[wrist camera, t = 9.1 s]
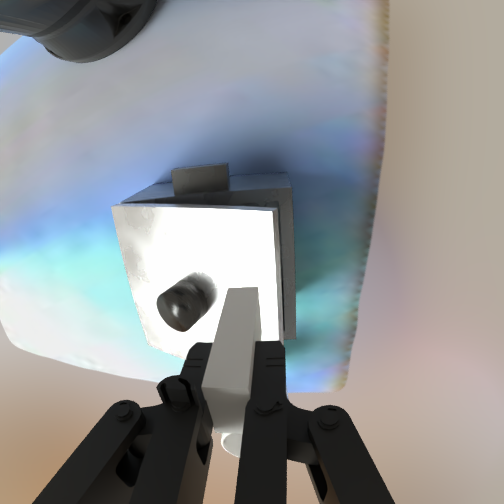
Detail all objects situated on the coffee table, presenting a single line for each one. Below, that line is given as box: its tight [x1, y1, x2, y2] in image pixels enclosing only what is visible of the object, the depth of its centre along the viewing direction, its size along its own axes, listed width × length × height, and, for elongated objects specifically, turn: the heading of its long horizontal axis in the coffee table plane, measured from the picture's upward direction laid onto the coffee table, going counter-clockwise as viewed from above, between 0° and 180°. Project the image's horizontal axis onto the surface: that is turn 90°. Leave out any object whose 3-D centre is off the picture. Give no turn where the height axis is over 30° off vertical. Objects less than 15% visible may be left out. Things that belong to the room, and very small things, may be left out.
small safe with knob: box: [120, 163, 296, 340], centre depth 29 cm, size 18×14×8 cm
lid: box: [111, 204, 284, 360], centre depth 22 cm, size 14×14×3 cm
